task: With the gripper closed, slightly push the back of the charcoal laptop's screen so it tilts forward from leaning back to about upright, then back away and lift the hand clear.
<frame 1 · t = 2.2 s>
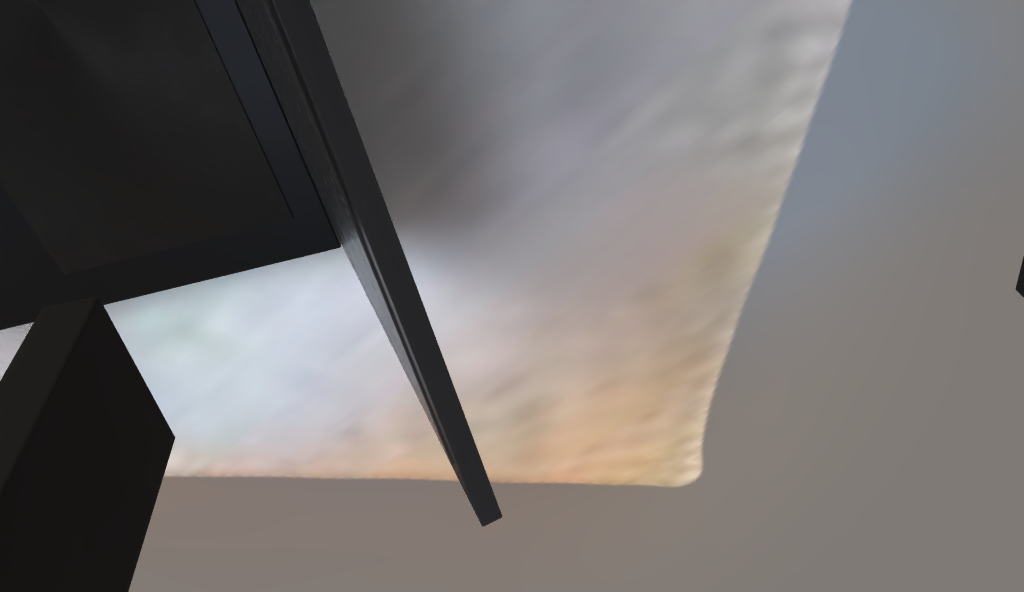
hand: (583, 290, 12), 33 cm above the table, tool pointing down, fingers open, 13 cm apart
laptop screen: (265, 14, 30), point 12 cm above the table, hinge at 108.0°
laptop: (2, 7, 40), on the table
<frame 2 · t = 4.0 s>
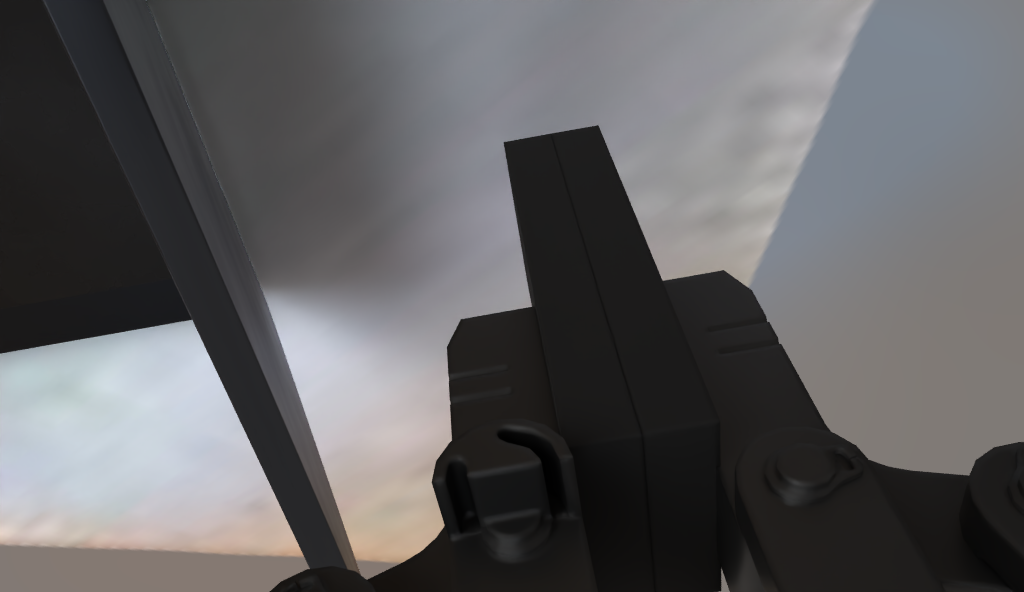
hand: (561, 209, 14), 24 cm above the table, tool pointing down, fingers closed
laptop screen: (138, 55, 24), point 12 cm above the table, hinge at 108.0°
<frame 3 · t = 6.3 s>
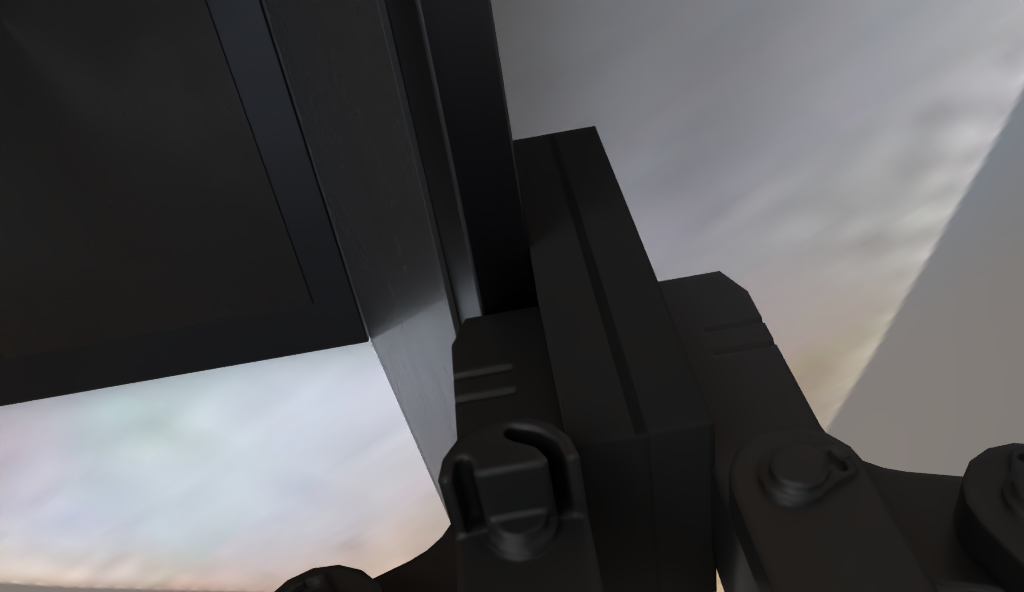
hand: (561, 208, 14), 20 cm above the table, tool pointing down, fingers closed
laptop screen: (336, 75, 20), point 12 cm above the table, hinge at 106.2°, touching gripper
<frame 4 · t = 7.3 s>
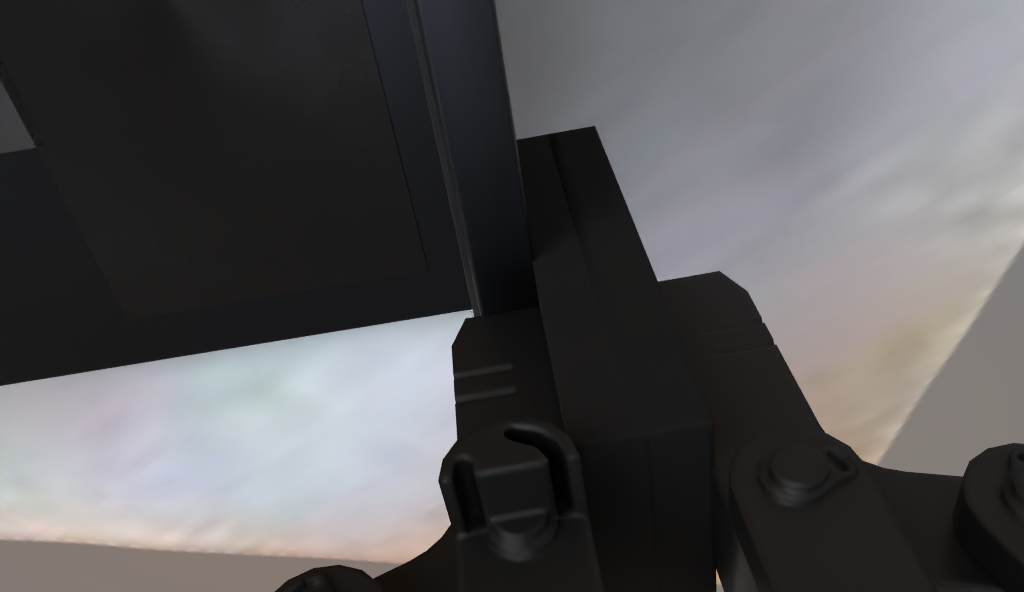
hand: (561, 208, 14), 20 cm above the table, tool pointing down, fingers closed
laptop screen: (441, 49, 20), point 13 cm above the table, hinge at 94.4°, touching gripper
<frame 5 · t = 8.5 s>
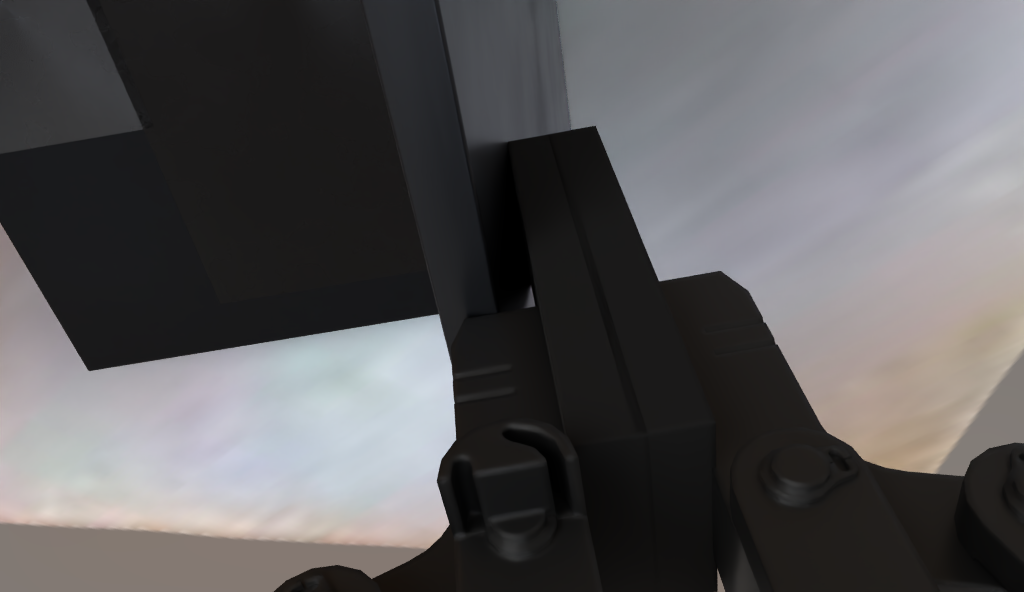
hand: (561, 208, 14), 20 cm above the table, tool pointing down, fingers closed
laptop screen: (515, 36, 20), point 13 cm above the table, hinge at 82.5°, touching gripper
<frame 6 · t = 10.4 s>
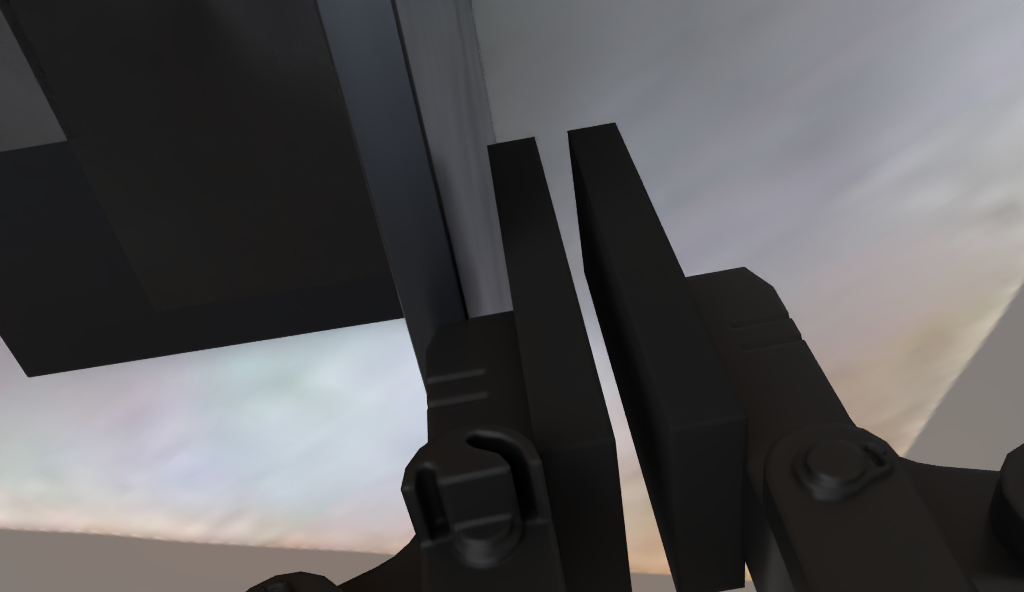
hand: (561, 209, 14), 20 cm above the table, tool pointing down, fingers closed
laptop screen: (443, 48, 20), point 13 cm above the table, hinge at 89.9°, touching gripper
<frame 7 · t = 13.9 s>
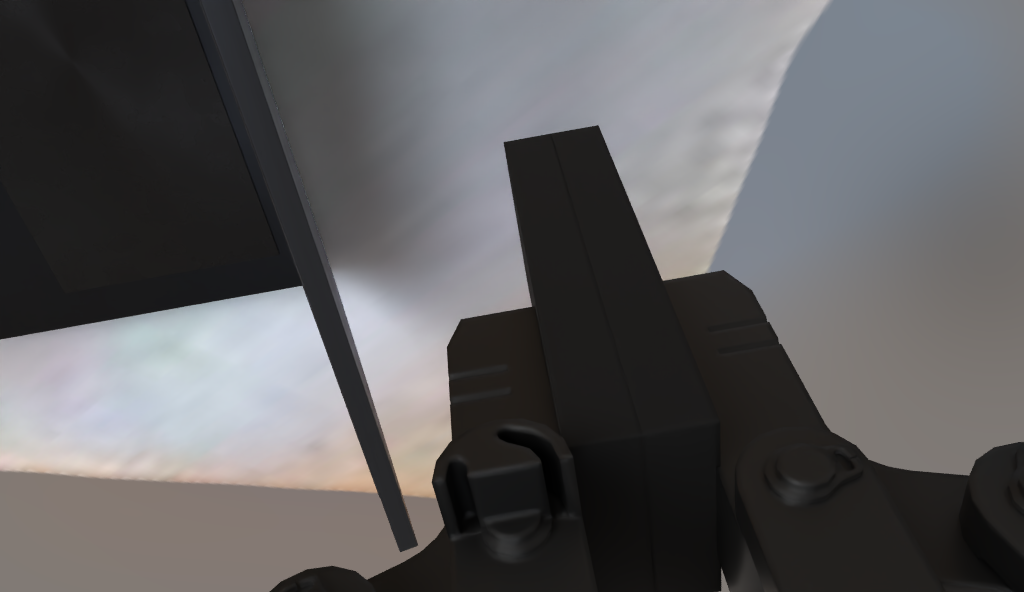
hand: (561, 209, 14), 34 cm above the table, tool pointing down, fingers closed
laptop screen: (262, 106, 36), point 12 cm above the table, hinge at 103.5°
laptop: (34, 57, 46), on the table
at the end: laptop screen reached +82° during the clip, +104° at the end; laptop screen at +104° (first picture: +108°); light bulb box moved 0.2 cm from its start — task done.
